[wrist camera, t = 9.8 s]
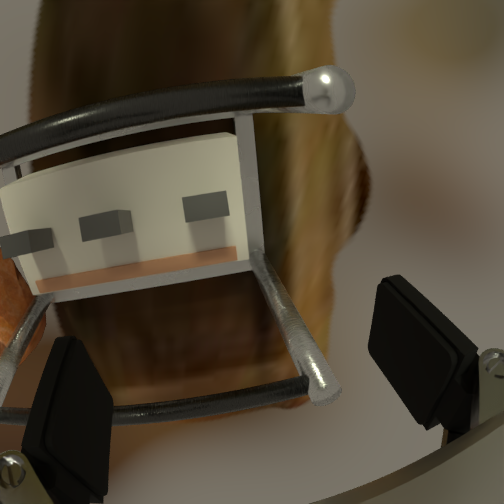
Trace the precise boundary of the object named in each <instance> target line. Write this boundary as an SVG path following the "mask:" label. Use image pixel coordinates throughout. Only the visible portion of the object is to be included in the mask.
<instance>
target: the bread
mask: <svg viewBox="0 0 504 504" xmlns="http://www.w3.org/2000/svg"><path fill="white" fill-rule="evenodd" d="M34 297H35V295H33V294H32V292H31V289H30V287H29V285H28V284H27V283H26V281H25V280H24V278H23V277H22V275H21V273H20V272H19V271H18V269H17V267H16V265H15V263H14V261H13V260H12V259H11V258H7V259H3V257H2V251H1V248H0V356H1V354H2V352H3V350H4V348H5V346H6V345H7V343H8V341H9V339H10V337H11V336H12V334H13V332H14V330H15V329H16V327H17V325H18V323H19V322H20V320H21V318H22V317H23V315H24V313H25V312H26V310H27V309H28V307H29V305H30V304H31V302H32V301H33V299H34ZM45 327H46V314H44V315H43V317H42V319H41V321H40V323H39V325H38V327H37V329H36V331H35V333H34V335H33V337H32V339H31V341H30V343H29V345H28V347H27V349H26V351H25V353H24V355H23V357H22V359H21V362H20V364H21V363H22V362H23V361H24V360H25V359H26V358H27V357H28V356H29V354H30V353H31V352H32V351H33V350H34V349H35V348H36V346H37V345H38V343H39V341H40V340H41V338H42V336H43V333H44V330H45ZM20 364H19V365H20Z"/></svg>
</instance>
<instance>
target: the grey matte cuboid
mask: <svg viewBox="0 0 504 504" xmlns="http://www.w3.org/2000/svg"><path fill="white" fill-rule="evenodd" d="M182 202H183V209H184V215H185V222H186V223H188V222H194V221H200V220H206V219H212V218H218V217H224V216H230V212H229V206H228V199H227V193H226V191H219V192H212V193H206V194H200V195H194V196H188V197H182Z"/></svg>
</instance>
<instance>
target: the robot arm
mask: <svg viewBox="0 0 504 504" xmlns="http://www.w3.org/2000/svg"><path fill="white" fill-rule="evenodd" d="M368 350H369V353H370V355H371V357H372V358H373V360H374V361H375V362H376V364H377V365H378V367H379V368H380V369H381V371H382V372H383V374H384V375H385V377H386V378H387V380H388V381H389V382H390V384H391V385H392V387H393V388H394V390H395V391H396V392H397V394H398V395H399V397H400V398H401V400H402V401H403V403H404V404H405V406H406V407H407V408H408V410H409V412H410V413H411V415H412V416H413V417H414V419H415V420H416V421H417V423H418V424H420V425H422V424H423V426H424V427H425V429H426V430H429V429H431V428H433V427H434V426H436V425H438V424H440V423H441V425H442V426H443V427H444V429H443V437H442V443H441V448H440V449H438V450H436V451H434V452H433V453H431V454H429V455H427V456H425V457H423V458H421V459H419V460H418V461H416V462H414V463H412V464H410V465H408V466H406V467H403V468H401V469H399V470H397V471H395V472H393V473H391V474H388V475H386V476H384V477H381V478H379V479H377V480H375V481H372V482H370V483H367V484H365V485H363V486H360V487H357V488H354V489H352V490H349V491H346V492H343V493H341V494H338V495H335V496H332V497H329V498H326V499H323V500H320V501H316V502H313V503H310V504H504V350H502V349H498V348H491V349H487V350H485V351H484V352H482V354H481V355H480V356H479V355H478V354H477V350H478V347H477V346H476V345H475V344H474V343H472V341H471V340H470V339H468V337H466V335H464V333H462V332H461V331H460V330H459V329H458V328H457V327H456V326H455V325H454V324H453V323H452V322H451V321H450V320H449V319H448V318H447V317H446V316H445V315H443V313H442V312H440V310H439V309H437V308H436V307H435V306H434V305H433V304H432V303H431V302H430V301H429V300H428V299H427V298H425V297H424V296H423V295H422V294H421V293H420V292H419V291H418V290H417V289H416V288H415V287H413V286H412V285H411V284H410V283H409V282H408V281H407V280H406V279H404V278H403V277H402V276H401V275H393V276H390V277H386V278H383V279H382V281H381V283H380V284H378V286H377V292H376V299H375V306H374V312H373V319H372V325H371V330H370V336H369V342H368ZM112 417H113V399H112V396H111V395H110V393H109V391H108V389H107V388H106V386H105V384H104V382H103V381H102V379H101V377H100V375H99V373H98V372H97V370H96V368H95V366H94V364H93V362H92V360H91V358H90V356H89V355H88V353H87V351H86V349H85V347H84V345H83V343H82V341H81V340H77V339H76V337H75V336H64V337H57V338H56V339H55V341H54V344H53V347H52V349H51V352H50V355H49V357H48V360H47V363H46V365H45V368H44V371H43V374H42V377H41V380H40V383H39V386H38V389H37V392H36V395H35V398H34V401H33V404H32V408H31V411H30V415H29V418H28V422H27V425H26V429H25V433H24V437H23V441H22V445H21V446H22V450H21V452H19V451H15V450H9V451H6V452H4V453H2V454H0V504H89V503H103V496H105V495H107V492H108V472H109V454H110V453H109V452H110V439H111V427H112Z"/></svg>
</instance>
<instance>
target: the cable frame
mask: <svg viewBox="0 0 504 504" xmlns="http://www.w3.org/2000/svg"><path fill="white" fill-rule="evenodd" d="M355 91H356V90H355V85H354V82H353V80H352V78H351V76H350V75H349V74H348V73H347V72H346V71H345V70H344V69H342V68H340V67H338V66H334V65H326V66H322V67H319V68H315V69H312V70H308V71H305V72H302V73H298V74H295V75H292V76H278V77H257V78H242V79H230V80H220V81H211V82H202V83H195V84H187V85H181V86H174V87H168V88H162V89H157V90H151V91H146V92H141V93H136V94H131V95H127V96H122V97H118V98H113V99H109V100H105V101H101V102H97V103H94V104H90V105H86V106H83V107H79V108H76V109H72V110H69V111H66V112H62V113H59V114H56V115H53V116H50V117H47V118H44V119H41V120H38V121H35V122H33V123H30V124H27V125H24V126H22V127H19V128H16V129H14V130H12V131H9V132H6V133H4V134H2V135H0V168H2V172H3V177H4V182H5V186H6V185H8V184H10V183H12V182H14V181H16V180H18V179H20V178H22V174H21V169H20V164H22V163H25V162H28V161H31V160H34V159H37V158H40V157H44V156H47V155H50V154H53V153H57V152H60V151H64V150H67V149H71V148H74V147H78V146H82V145H86V144H89V143H93V142H97V141H101V140H106V139H110V138H114V137H119V136H123V135H128V134H133V133H137V132H142V131H147V130H153V129H158V128H164V127H169V126H175V125H181V124H188V123H195V122H202V121H209V120H217V119H225V118H233V128H234V135H235V136H237V145H238V155H239V164H240V174H241V184H242V193H243V203H244V212H245V222H246V231H247V241H248V250H249V259H247V260H241V261H236V262H230V263H224V264H218V265H212V266H207V267H201V268H195V269H189V270H183V271H177V272H172V273H166V274H160V275H154V276H148V277H142V278H136V279H130V280H124V281H118V282H112V283H106V284H100V285H94V286H88V287H82V288H76V289H70V290H64V291H58V292H52V293H46V294H40V295H36V296H35V297H34V299H33V301H32V302H31V304H30V305H29V307H28V309H27V310H26V312H25V313H24V315H23V317H22V318H21V320H20V322H19V323H18V325H17V327H16V329H15V330H14V332H13V334H12V336H11V337H10V339H9V341H8V343H7V345H6V346H5V348H4V350H3V352H2V354H1V356H0V423H2V424H12V425H27V422H28V418H29V415H30V411H31V408H11V407H1V406H2V404H3V401H4V399H5V396H6V394H7V391H8V389H9V386H10V384H11V382H12V379H13V377H14V375H15V373H16V370H17V368H18V366H19V364H20V362H21V359H22V357H23V355H24V353H25V351H26V349H27V347H28V345H29V343H30V341H31V339H32V337H33V335H34V333H35V331H36V329H37V327H38V325H39V323H40V321H41V319H42V317H43V315H44V314H45V312H46V310H47V308H48V306H49V304H50V303H56V302H63V301H69V300H76V299H82V298H88V297H95V296H101V295H108V294H114V293H120V292H126V291H132V290H138V289H145V288H151V287H157V286H163V285H169V284H175V283H180V282H186V281H192V280H198V279H204V278H210V277H215V276H221V275H227V274H233V273H238V272H244V271H249V270H253V272H254V275H255V277H256V279H257V281H258V284H259V286H260V288H261V290H262V293H263V295H264V297H265V299H266V302H267V304H268V306H269V308H270V310H271V313H272V315H273V317H274V319H275V322H276V324H277V326H278V328H279V330H280V333H281V335H282V337H283V339H284V342H285V344H286V346H287V348H288V350H289V353H290V355H291V357H292V359H293V362H294V364H295V366H296V368H297V370H298V373H299V375H300V376H298V377H294V378H290V379H286V380H282V381H277V382H273V383H269V384H264V385H260V386H255V387H250V388H245V389H240V390H235V391H229V392H224V393H218V394H213V395H207V396H200V397H194V398H187V399H180V400H172V401H164V402H156V403H147V404H136V405H125V406H113V417H112V426H123V425H137V424H149V423H159V422H168V421H177V420H185V419H192V418H199V417H205V416H212V415H218V414H223V413H229V412H234V411H240V410H245V409H250V408H255V407H259V406H264V405H268V404H273V403H277V402H281V401H285V400H289V399H293V398H297V397H301V396H305V395H309V397H310V399H311V401H312V403H313V404H314V405H316V406H324V405H327V404H330V403H331V402H333V401H335V400H336V399H337V398H338V397H339V396H340V394H341V391H342V389H341V387H340V385H339V383H338V381H337V379H336V378H335V376H334V374H333V372H332V371H331V369H330V367H329V365H328V363H327V362H326V360H325V358H324V356H323V355H322V353H321V351H320V349H319V347H318V346H317V344H316V342H315V340H314V339H313V337H312V335H311V333H310V332H309V330H308V328H307V326H306V325H305V323H304V321H303V319H302V318H301V316H300V314H299V312H298V311H297V309H296V307H295V305H294V304H293V302H292V300H291V298H290V297H289V295H288V293H287V291H286V290H285V288H284V286H283V284H282V283H281V281H280V279H279V277H278V276H277V274H276V272H275V270H274V269H273V267H272V265H271V263H270V262H269V260H268V258H267V256H266V255H265V252H264V240H263V228H262V216H261V204H260V193H259V181H258V170H257V159H256V148H255V137H254V127H253V116H252V113H317V114H340V113H343V112H345V111H346V110H348V109H349V108H350V107H351V105H352V104H353V102H354V99H355V94H356V92H355Z"/></svg>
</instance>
